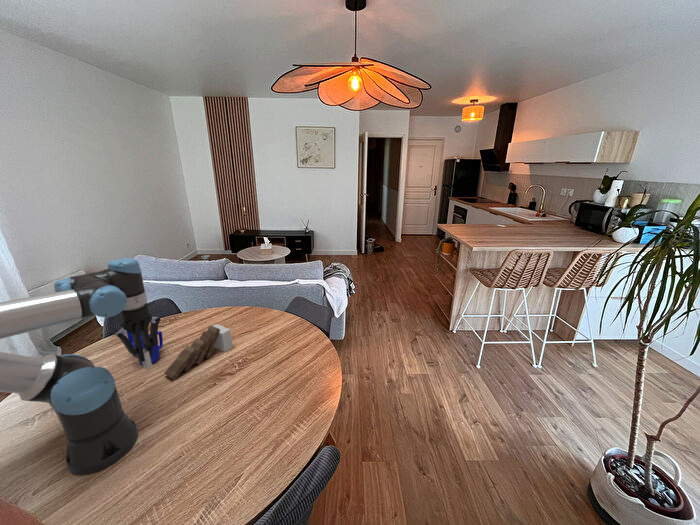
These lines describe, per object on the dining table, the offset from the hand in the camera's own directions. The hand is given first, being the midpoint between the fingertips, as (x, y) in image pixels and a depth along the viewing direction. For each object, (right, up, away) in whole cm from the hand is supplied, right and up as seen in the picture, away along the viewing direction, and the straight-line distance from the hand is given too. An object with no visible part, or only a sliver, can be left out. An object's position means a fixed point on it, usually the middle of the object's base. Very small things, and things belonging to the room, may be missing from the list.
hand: (147, 367), depth 97 cm
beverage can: (-19, -2, +22) cm, 29 cm away
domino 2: (+5, -5, +12) cm, 14 cm away
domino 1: (+3, -6, +7) cm, 10 cm away
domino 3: (+8, -4, +16) cm, 18 cm away
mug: (-11, -3, +19) cm, 22 cm away
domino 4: (+10, -3, +20) cm, 22 cm away
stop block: (+14, -1, +27) cm, 30 cm away
